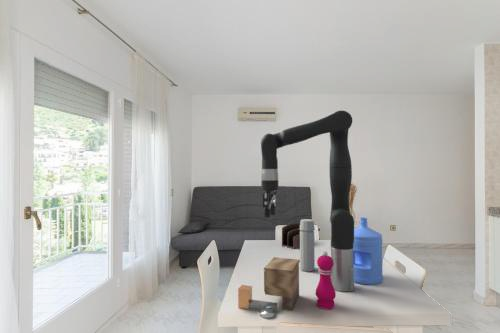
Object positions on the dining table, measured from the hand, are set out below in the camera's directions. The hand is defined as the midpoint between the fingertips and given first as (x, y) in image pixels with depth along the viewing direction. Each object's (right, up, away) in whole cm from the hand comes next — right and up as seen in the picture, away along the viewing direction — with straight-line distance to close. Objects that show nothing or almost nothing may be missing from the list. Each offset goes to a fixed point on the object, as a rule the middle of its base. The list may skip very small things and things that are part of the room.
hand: (270, 216), depth 136 cm
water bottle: (+20, -31, +20) cm, 42 cm away
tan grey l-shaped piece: (-6, -30, -24) cm, 39 cm away
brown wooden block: (+4, -30, -18) cm, 35 cm away
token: (-3, -30, -29) cm, 42 cm away
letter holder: (+22, -31, +71) cm, 80 cm away
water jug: (+44, -30, +5) cm, 53 cm away
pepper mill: (+19, -30, -22) cm, 42 cm away
